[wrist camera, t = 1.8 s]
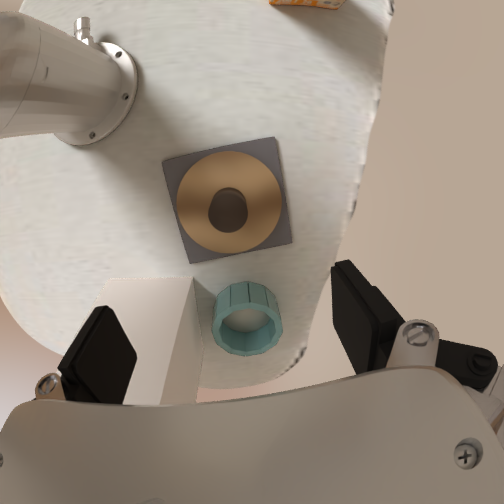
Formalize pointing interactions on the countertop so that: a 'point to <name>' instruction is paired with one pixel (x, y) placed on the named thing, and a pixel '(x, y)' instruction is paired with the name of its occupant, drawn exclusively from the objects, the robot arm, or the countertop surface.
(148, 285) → the milk
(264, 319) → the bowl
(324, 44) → the countertop surface
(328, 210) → the countertop surface
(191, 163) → the mat
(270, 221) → the lid
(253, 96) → the countertop surface
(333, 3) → the supplement box
